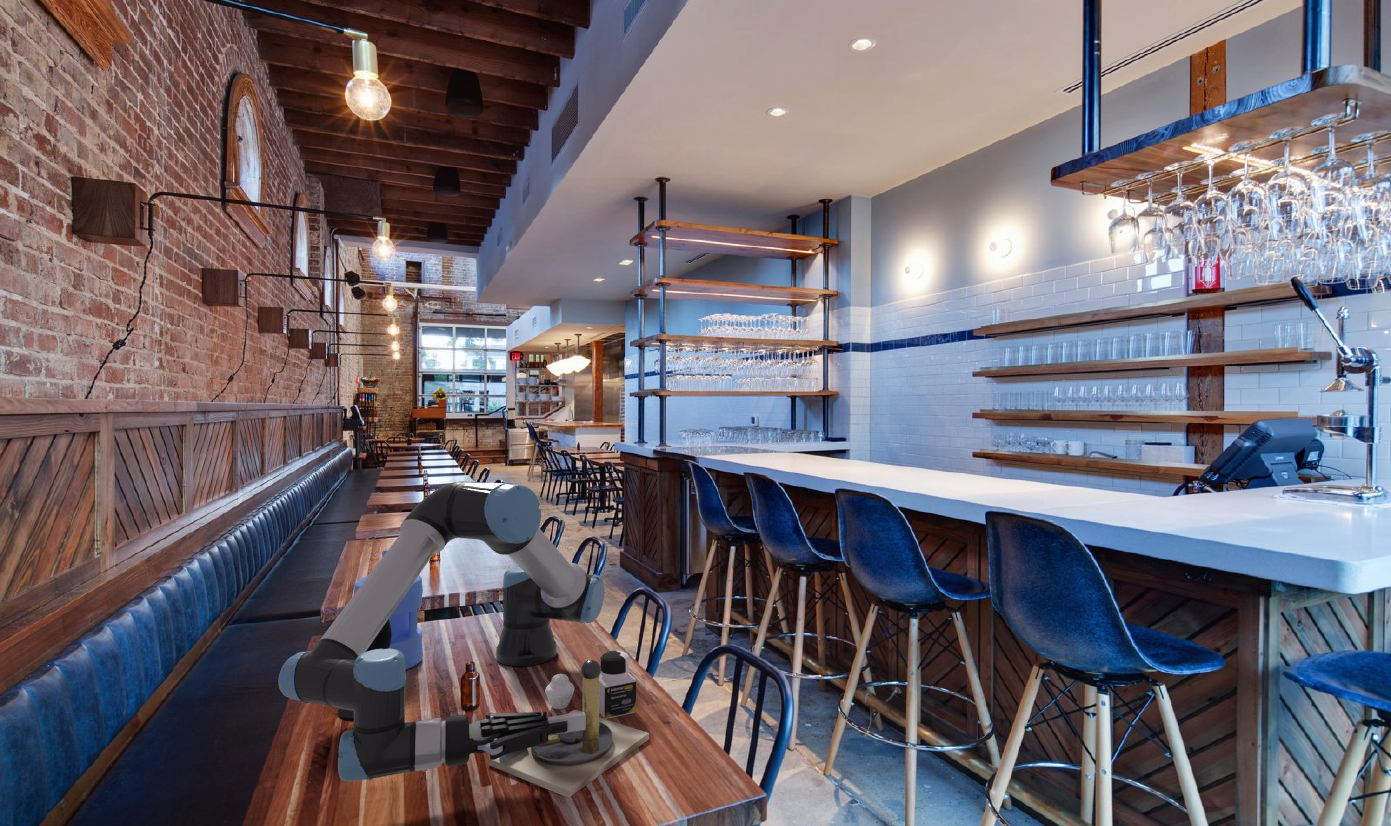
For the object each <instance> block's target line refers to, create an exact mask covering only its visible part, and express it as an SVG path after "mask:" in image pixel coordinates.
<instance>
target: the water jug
mask: <svg viewBox="0 0 1391 826" xmlns="http://www.w3.org/2000/svg"><path fill="white" fill-rule="evenodd" d="M387 551H388V550H383V551H381V554H382V557H383V556H384V555H385V553H386V552H387ZM382 557H381V558H382ZM369 575H370V574H368V575H366V576H364V577H362V578H360V579H357V581H355V583H354V589H353V595H354V594H355V593H356V592H357V590H358V589H359V588H360V586H361V585H362V584H363V582H364V581H365V580H366V579H367V577H368V576H369ZM423 587H424V586H423V578H422V576H421V575H420V574H419V576H418V577H417V579H416V580H415V581H414V583H413V584H412V586H411V587H410V589H409V590H408V591H407V593H406V594H405V596H404V597H403V599H402V600H401V602H400V603H399V604H398V606H397V607H396V609H395V610H394V612H393V613H392V614H391V616H390V617H389V621H390V625H391V632H392V637H391V644H390V647H389V649H396V650H399V651H400V652H402V653H403V655H404V657H405V671H406V670H409V669H411V668H414V667H415V666H417V665H418V664H419V663H420V662H421V661H422V660H423V656H424V649H423V631H422V629H421V628H419V627H418V609H420V607H421V606H422V605H423V591H424V589H423Z"/></svg>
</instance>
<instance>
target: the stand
mask: <svg viewBox="0 0 1391 826" xmlns="http://www.w3.org/2000/svg"><path fill="white" fill-rule="evenodd" d="M580 712H582V711H580V710H578V709H576V708H575V709H573V710H572V711H569V712H567V714H573V713H580ZM599 722H601V723H603V724H605V725H606V726H607V727H609V728H610V730H611V732H612V746H611V748H610V749H609V750H608V751H607V752H606V753H605V754H604V755H603V756H601V757H599V758H597V759H595V760H593V761H590V762H586V763H582V764H577V765H553V764H549V763H545V762H542V761H540V760H539V759H537V758H536V757H535V756H534V755H533V754H532V752H531V747H530V748H526V749H523V750H519V751H516V752H512V753H509V754H505V755H503V756H501V757H499V758H497V759H495V760H491V759H490V758H488V765H489V766H490V767H492V768H494V769H496V770H500V771H502V772H504V773H506V774H510V775H512V776H514V777H515V778H516V777H517V778H519V779H520V780H521V779H522V780H523V781H526V782H529V783H531V784H533V785H536V786H538V787H541V788H543V789H545V790H549V791H550V792H553V793H556V794H559V795H561V796H562V797H565V798H568V799H570V798H571V797H572V796H573V795H575V794H576V793H578V792H579V791H580V790H581V789H583V788H584V787H586V786H587V785H589V784H590V783H591V782H593V781H594V780H595V779H597V778H598V777H600V776H601V775H602V774H604V773H605V772H606V771H608V770H609V769H610V768H612V767H613V766H615V765H616V764H617V763H619V762H620V761H621V760H622V759H624V758H625V757H627V756H628V755H629V754H631V753H632V752H633V751H635V750H637V749H638V748H639V747H640V746H642V745H643V744H644V743H646V742H647V741H648V740H649V739H650V732H647V731H644V730H640V729H637V728H634V727H631V726H627V725H625V724H622V723H618V722H615V721H612V720H609V719H604V718H603V717H600V716H599Z"/></svg>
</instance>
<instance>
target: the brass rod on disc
mask: <svg viewBox="0 0 1391 826" xmlns="http://www.w3.org/2000/svg"><path fill="white" fill-rule="evenodd" d="M580 673H581V674H580V675H581V676H582V712H585V714H586V730H581V731H574V732H568V733H561V734H555V735H549V737H548V742H546V743H544V744H540V745H537V746H533V747H531V752H532V754H533V755H534V756H535V757H536V758H537V759H539V760H540V761H542V762H545V763H549V764H553V765H577V764H582V763H586V762H590V761H593V760H595V759H597V758H599V757H601V756H603V755H604V754H605V753H606V752H607V751H608V750H609V749H610V748H611V746H612V732H611V730H610V728H609V727H607V726H606V725H605V724H603V723H601V722H599V717H600V713H599V675H600V673H601V663H599V661H597V660H595V659H588V660H586V661H584V662H583V663H582V665H581V668H580Z"/></svg>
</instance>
